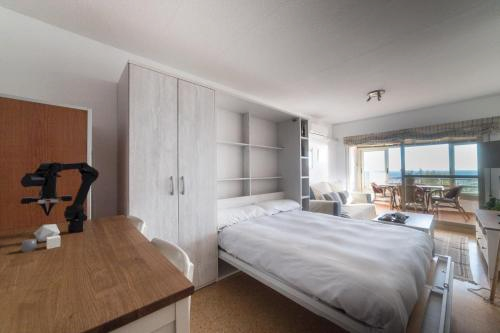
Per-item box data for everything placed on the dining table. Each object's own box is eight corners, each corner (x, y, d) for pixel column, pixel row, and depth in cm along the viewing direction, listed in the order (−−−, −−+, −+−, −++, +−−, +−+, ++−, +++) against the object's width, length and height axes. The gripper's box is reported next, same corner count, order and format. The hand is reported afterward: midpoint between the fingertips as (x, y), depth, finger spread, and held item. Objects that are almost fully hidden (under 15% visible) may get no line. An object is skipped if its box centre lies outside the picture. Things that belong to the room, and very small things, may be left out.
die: (35, 241, 105) (26, 229, 99) (55, 229, 112) (48, 217, 107) (46, 248, 103) (37, 236, 97) (65, 235, 110) (58, 224, 104)
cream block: (59, 244, 99) (59, 235, 99) (60, 246, 96) (60, 237, 96) (46, 246, 96) (46, 237, 96) (47, 249, 93) (47, 239, 93)
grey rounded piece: (37, 247, 94) (37, 238, 94) (34, 250, 91) (35, 240, 91) (23, 250, 91) (23, 240, 92) (20, 253, 88) (20, 242, 88)
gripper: (73, 184, 118) (72, 211, 117) (26, 186, 106) (25, 215, 106) (72, 185, 109) (71, 214, 108) (20, 187, 97) (19, 219, 97)
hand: (47, 215), depth 105 cm, fingers closed
